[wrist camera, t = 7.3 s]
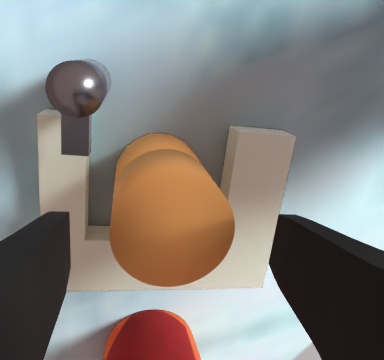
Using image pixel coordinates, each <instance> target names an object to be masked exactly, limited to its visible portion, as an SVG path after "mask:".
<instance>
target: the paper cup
mask: <svg viewBox="0 0 384 360" xmlns="http://www.w3.org/2000/svg"><path fill="white" fill-rule="evenodd" d="M103 360H201V358H200V355H199V352H198V349H197V346H196V343H195V341H194V338H193V335H192V333H191V330H190V328H189V326H188V325H187V323H186V322H185V321H184V320H183V319H182V318H181V317H179V316H178V315H176V314H174V313H172V312H169V311H165V310H145V311H140V312H137V313H134V314H132V315H130V316H128V317H126V318H124V319H123V320H122V321H120V322H119V323H118V324H117V325H116V326H115V327H114V328H113V330H112V331H111V332H110V334H109V336H108V339H107V342H106V346H105V351H104V356H103Z"/></svg>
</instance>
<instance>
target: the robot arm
mask: <svg viewBox="0 0 384 360" xmlns="http://www.w3.org/2000/svg"><path fill="white" fill-rule="evenodd" d="M269 265H270V268H271V270H272V273H273V275H274V278H275V280H276V282H277V284H278V286H279V288H280V290H281V292H282V293H283V295H284V297H285V298H286V300H287V302H288V303H289V305H290V306H291V308H292V310H293V311H294V313H295V314H296V316H297V318H298V319H299V321H300V322H301V324H302V326H303V327H304V329H305V331H306V332H307V334H308V335H309V337H310V339H311V340H312V342H313V344H314V346H315V347H316V349H317V351H318V353H319V355H320V357H321V359H322V360H384V251H382V250H380V249H377V248H375V247H372V246H370V245H367V244H365V243H362V242H360V241H357V240H355V239H353V238H350V237H348V236H346V235H343V234H341V233H339V232H337V231H334V230H332V229H330V228H328V227H325V226H323V225H321V224H319V223H316V222H314V221H311V220H309V219H306V218H304V217H301V216H297V215H285V214H278V219H277V224H276V229H275V234H274V239H273V244H272V249H271V254H270V259H269ZM70 268H71V253H70V216H69V212H58V211H49V212H47V213H45V214H43V215H42V216H40V217H39V218H37V219H36V220H34V221H33V222H31V223H29V224H28V225H26V226H25V227H23V228H22V229H20V230H19V231H17V232H15V233H14V234H12V235H11V236H9V237H7V238H5V239H4V240H2V241H0V360H43V359H44V356H45V353H46V350H47V347H48V344H49V341H50V338H51V335H52V333H53V330H54V327H55V324H56V321H57V318H58V315H59V312H60V309H61V306H62V303H63V300H64V297H65V294H66V289H67V284H68V279H69V274H70Z"/></svg>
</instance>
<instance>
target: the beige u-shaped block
mask: <svg viewBox="0 0 384 360" xmlns="http://www.w3.org/2000/svg"><path fill="white" fill-rule="evenodd" d="M37 136H38V166H39V196H40V216H42V215H43V214H45V213H47V212H49V211H58V212H69V216H70V253H71V268H70V274H69V279H68V284H67V289H66V292H69V291H121V290H172V289H224V288H263V284H264V279H265V275H266V270H267V266H268V261H269V257H270V252H271V248H272V243H273V239H274V234H275V229H276V224H277V219H278V214H279V212H280V208H281V203H282V199H283V194H284V190H285V185H286V181H287V176H288V172H289V167H290V163H291V158H292V154H293V149H294V145H295V140H296V136H294V135H292V134H290V133H288V132H285V131H283V130H276V129H264V128H253V127H242V126H231V125H230V126H229V133H228V139H227V146H226V152H225V158H224V165H223V171H222V178H221V184H220V190H221V192H222V193H223V194H224V196H225V197H226V199H227V200H228V202H229V204H230V206H231V208H232V211H233V214H234V219H235V233H234V238H233V242H232V245H231V247H230V249H229V251H228V253H227V255H226V256H225V258H224V259H223V261H222V262H221V263H220V264H219V265H218V266H217V267H216V268H215V269H214V270H213V271H212V272H210V273H209V274H207V275H206V276H204V277H203V278H201V279H199V280H197V281H194V282H192V283H189V284H186V285H181V286H174V287H160V286H153V285H149V284H146V283H143V282H141V281H139V280H137V279H135V278H133V277H132V276H130V275H129V274H128V273H127V272H126V271H124V270H123V269H122V267H121V266H120V265H119V264H118V262H117V260H116V259H115V257H114V255H113V252H112V250H111V245H110V237H109V233H110V226H95V225H88V200H89V156H75V155H61V113H60V112H59V111H57V110H51V109H45V110H43V111H41V112H40V113H38V114H37Z"/></svg>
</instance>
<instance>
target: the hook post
mask: <svg viewBox="0 0 384 360" xmlns="http://www.w3.org/2000/svg"><path fill="white" fill-rule="evenodd" d="M110 85H111V79H110V75H109V72H108V71H107V69H106V68H105V67H104V66H103V65H102V64H101V63H99V62H97V61H94V60H76V61H66V62H62V63H60V64H58V65H56V66H55V67H54V68H53V69H52V70H51V71H50V73H49V75H48V77H47V80H46V93H47V96H48V99H49V101H50V103H51V104H52V105H53V107H54V108H55V109H56V110H57V111H59V112H60V113H61V155H75V156H89V154H90V152H91V114H93V113H94V112H96V111H97V110H98V108H99V107H100V105H101V104H102V102H103V100H104V98H105V96H106V94H107V93H108V91H109V89H110Z"/></svg>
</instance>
